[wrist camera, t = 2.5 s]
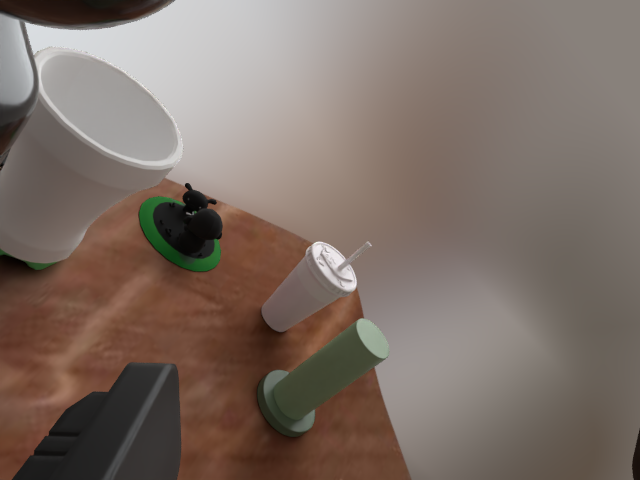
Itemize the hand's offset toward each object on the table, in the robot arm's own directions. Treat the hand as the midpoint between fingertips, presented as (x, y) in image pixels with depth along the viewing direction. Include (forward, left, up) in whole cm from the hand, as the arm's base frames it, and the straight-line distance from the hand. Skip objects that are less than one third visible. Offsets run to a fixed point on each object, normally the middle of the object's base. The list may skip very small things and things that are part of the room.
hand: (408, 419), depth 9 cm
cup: (+10, +29, -29) cm, 43 cm away
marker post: (+32, +13, -29) cm, 45 cm away
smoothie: (+36, +23, -30) cm, 52 cm away
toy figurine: (+27, +33, -30) cm, 52 cm away
